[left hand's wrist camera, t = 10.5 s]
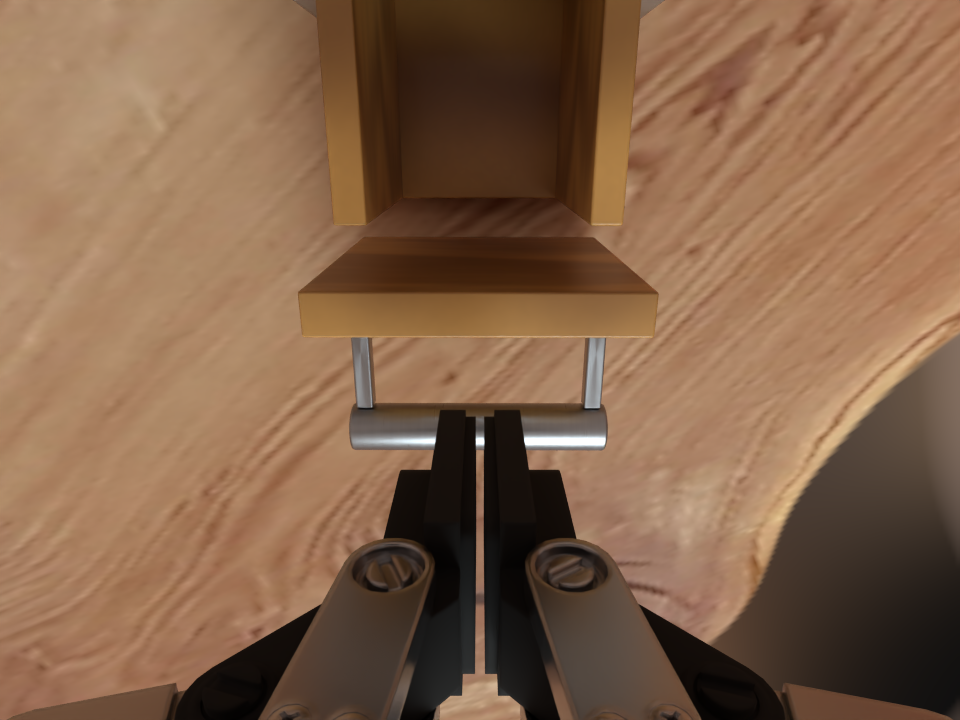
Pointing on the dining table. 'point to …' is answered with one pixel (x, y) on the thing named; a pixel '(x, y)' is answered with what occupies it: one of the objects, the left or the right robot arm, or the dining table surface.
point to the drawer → (478, 192)
